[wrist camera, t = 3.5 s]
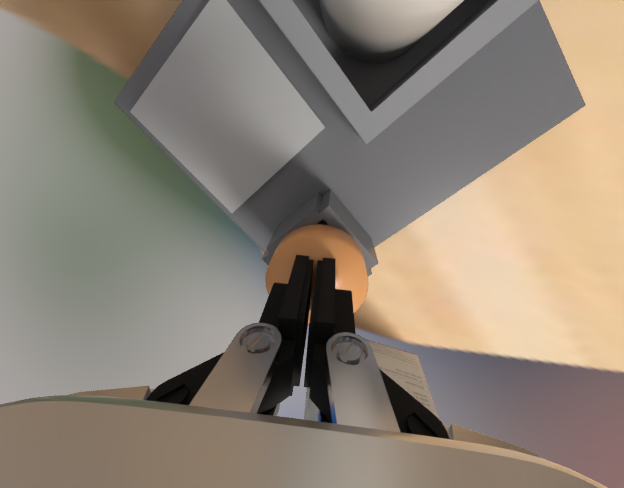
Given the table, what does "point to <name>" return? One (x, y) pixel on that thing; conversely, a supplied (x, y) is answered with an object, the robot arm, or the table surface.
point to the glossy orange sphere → (318, 245)
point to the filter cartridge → (381, 25)
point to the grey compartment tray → (344, 112)
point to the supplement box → (392, 377)
